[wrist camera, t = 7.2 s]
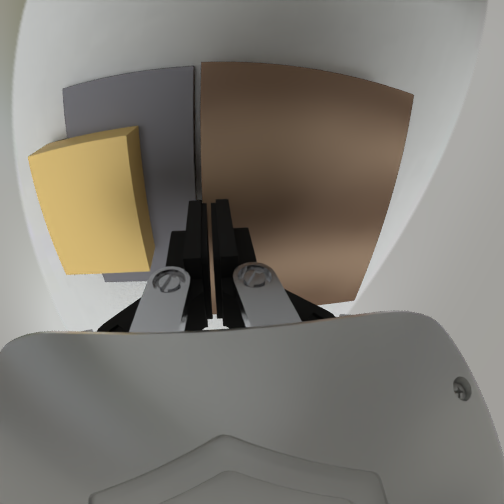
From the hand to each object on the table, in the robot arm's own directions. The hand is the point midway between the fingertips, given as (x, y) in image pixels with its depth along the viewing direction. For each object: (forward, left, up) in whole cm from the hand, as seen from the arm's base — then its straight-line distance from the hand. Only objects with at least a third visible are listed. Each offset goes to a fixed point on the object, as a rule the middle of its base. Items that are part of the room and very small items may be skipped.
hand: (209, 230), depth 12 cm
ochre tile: (0, -7, -2) cm, 7 cm away
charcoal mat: (0, -5, -5) cm, 7 cm away
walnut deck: (0, +5, -5) cm, 7 cm away
